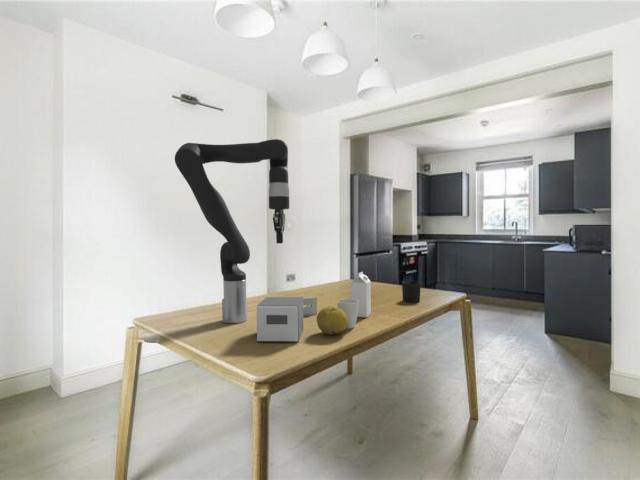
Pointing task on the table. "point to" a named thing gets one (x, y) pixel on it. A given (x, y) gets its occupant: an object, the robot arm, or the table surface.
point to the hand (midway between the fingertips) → (279, 243)
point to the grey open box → (286, 302)
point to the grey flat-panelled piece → (277, 323)
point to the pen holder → (411, 291)
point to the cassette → (312, 308)
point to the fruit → (332, 320)
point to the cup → (349, 310)
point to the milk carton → (362, 294)
